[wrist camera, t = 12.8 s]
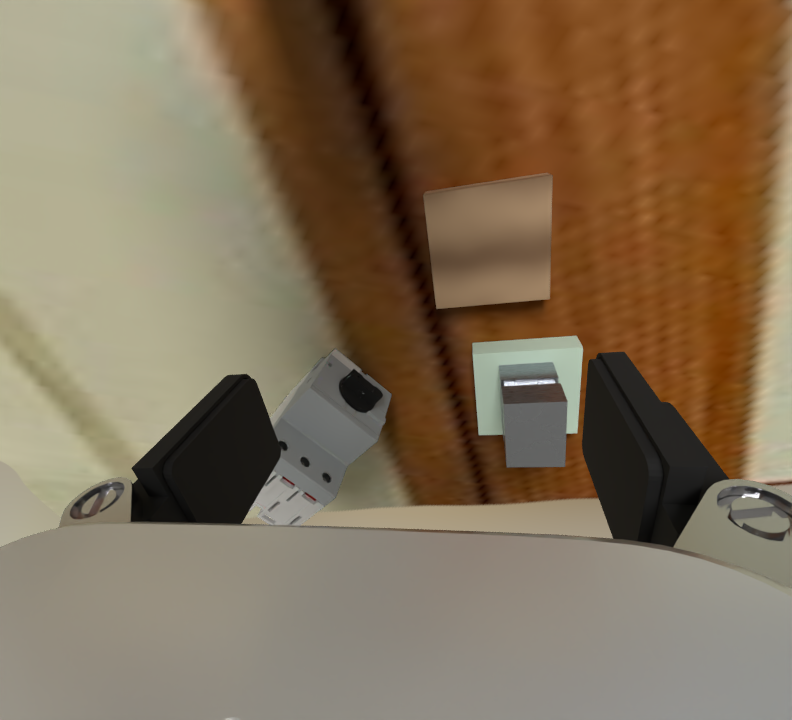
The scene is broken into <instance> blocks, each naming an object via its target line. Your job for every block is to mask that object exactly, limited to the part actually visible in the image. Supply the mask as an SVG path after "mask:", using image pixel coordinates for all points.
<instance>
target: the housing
mask: <svg viewBox="0 0 792 720" xmlns="http://www.w3.org/2000/svg"><path fill="white" fill-rule="evenodd" d="M499 382H500V401H501V420H502V430H503V439H504V448H505V457H506V466H507V467H565V453H566V428H567V404H568V401H567V399H566V396H565V393H564V391H563V388H562V385H561V383H558V374H557V372H556V369H555V366H554V364H553V362H544V363H528V364H512V365H499Z"/></svg>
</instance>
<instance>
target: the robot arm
mask: <svg viewBox="0 0 792 720" xmlns="http://www.w3.org/2000/svg"><path fill="white" fill-rule="evenodd" d="M582 449H583V455H584V458H585V461H586V464H587V467H588V469H589V472H590V475H591V478H592V480H593V483H594V486H595V489H596V492H597V494H598V497H599V500H600V502H601V505H602V508H603V511H604V514H605V516H606V519H607V522H608V525H609V528H610V530H611V533H612V536H613V539H610V538H596V537H581V536H567V535H551V534H550V535H549V534H524V533H523V534H522V533H503V532H476V531H449V530H448V531H447V530H422V529H420V530H419V529H395V528H394V529H393V528H364V527H331V526H299V525H264V524H263V525H262V524H241V523H242V522H243V520H244V518H245V517H246V515H247V513H248V512H249V510H250V508H251V507H252V505H253V503H254V501H255V500H256V498H257V496H258V495H259V493H260V491H261V490H262V488H263V486H264V485H265V483H266V481H267V480H268V478H269V476H270V475H271V473H272V471H273V469H274V468H275V466H276V464H277V463H278V461H279V459H280V456H281V448H280V445H279V442H278V439H277V437H276V434H275V431H274V429H273V426H272V423H271V420H270V418H269V415H268V412H267V410H266V407H265V404H264V402H263V399H262V396H261V394H260V391H259V388H258V386H257V383H256V381H255V380H254V379H251V377H250V376H249V375H247V374H240V375H227V376H226V377H225V378H224V379H223V380H222V381H221V382H220V383H218V384H217V385H216V386H215V387H214V388H213V389H212V390H211V391H210V392H209V393H208V394H207V395H206V396H205V397H204V398H203V399H202V400H201V401H200V402H199V403H198V404H197V405H196V406H195V407H194V408H193V409H192V410H191V411H190V412H189V413H188V414H187V415H186V416H185V417H184V418H183V419H182V420H180V421H179V422H178V423H177V424H176V425H175V426H174V427H173V428H172V429H171V430H170V431H169V432H168V433H167V434H166V435H165V436H164V437H163V438H162V439H161V440H160V441H159V442H158V443H157V444H156V445H155V446H154V447H153V448H152V449H151V450H150V451H149V452H148V453H147V454H146V455H145V456H144V457H142V458H141V459H140V460H139V461H138V462H137V463H136V464H135V465H134V466H133V467H132V470H133V471H134V473H135V475H136V476H137V478H138V480H137V481H136V482H135V483H134V484H132V482H131V480H129V479H127V478H122V477H118V478H112V479H108V480H105V481H102V482H100V483H98V484H96V485H94V486H92V487H90V488H88V489H87V490H85V491H84V492H82V493H81V494H79V495H78V496H77V497H76V498H75V499H73V500H72V501H71V502H70V503H69V505H68V506H67V507H66V508H65V510H64V512H63V514H62V517H61V521H60V525H59V527H58V528H56V529H51V530H47V531H44V532H40V533H37V534H34V535H30V536H27V537H24V538H21V539H19V540H17V541H14V542H11V543H9V544H6V545H4V546H2V547H0V720H792V496H791V495H789V494H787V493H785V492H783V491H781V490H779V489H776V488H774V487H772V486H769V485H765V484H762V483H759V482H755V481H748V480H741V479H732V480H729V478H728V477H727V476H726V474H725V473H724V472H723V470H722V469H721V468H720V466H719V465H718V464H717V463H716V461H715V460H714V459H713V457H712V456H711V455H710V453H709V452H708V451H707V449H706V448H705V447H704V446H703V444H702V443H701V442H700V440H699V439H698V438H697V436H696V435H695V434H694V432H693V431H692V430H691V428H690V427H689V426H688V425H687V423H686V422H685V421H684V419H683V418H682V417H681V415H680V414H679V413H678V411H677V410H676V409H675V408H674V406H672V405H671V404H670V403H668V402H661V401H660V400H659V399H658V397H657V396H656V395H655V393H654V392H653V390H652V389H651V388H650V386H649V385H648V384H647V382H646V381H645V379H644V378H643V377H642V375H641V374H640V373H639V371H638V370H637V368H636V367H635V366H634V364H633V363H632V362H631V360H630V359H629V357H628V356H627V355H626V353H625V352H611V353H598V355H597V357H596V359H590V360H589V363H588V374H587V387H586V400H585V413H584V426H583V439H582Z"/></svg>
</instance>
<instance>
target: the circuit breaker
mask: <svg viewBox="0 0 792 720" xmlns="http://www.w3.org/2000/svg"><path fill="white" fill-rule="evenodd" d="M361 371H362V369H360V368H359V367H358V366H357V365H355V364H354V363H353V362H352V361H351V360H349V359H348V358H347V357H346V356H345V355H343V354H342V353H341V352H340V351H338V350H337V349H336V348H335V349H334V350H333V351H332V352H331V353H330V354H329V355H328V356H327V357H326V358H325V359H324V358H323V357H322V358H321V359H320V360H319V361H318V362H317V363H316V364H315V366H314V367H313V368H312V369H311V370H310V371H309V372H308V373H307V374H306V375H305V376H304V377H303V379H302V380H301V381H300V382H299V383H298V384H297V385H296V386H295V387H294V388H293V389H292V391H291V392H290V393H289V394H288V396H286V397H285V398H284V401H283V402H282V403H281V404H280V405H279V407H278V408H277V409H276V411H275V412H274V414H273V415H272V416H271V418H270V420H271V423H272V426H273V429H274V431H275V434H276V437H277V439H278V442H279V445H280V448H281V456H280V459H279V461H278V463H277V464H276V466H275V468H274V469H273V471H272V473H271V475H270V476H269V478H268V480H267V481H266V483H265V485H264V486H263V488H262V490H261V491H260V493H259V495H258V496H257V498H256V500H255V501H254V503H253V505H252V507H251V508H250V510H249V511H251V510H252V509H253V508H254V507H255V506H258V507H259V508H261V510H260V512H259V514H258V516H257V517H259V518H260V519H262V520H263V521H265V522H266V523H268V524H269V525H299V526H300V525H301V524H303V523H304V522H305V521H306V520H308V519H309V518H310V517H312V516H313V515H314V514H315V513H317V512H318V511H319V510H321V509H322V508H323V507H325V506H326V505H327V504H328V503H330V502H331V501H332V500H334V499H335V498H336V496H337V493H338V490H339V488H340V485H341V482H342V480H343V477H344V474H345V472H346V469H347V467H348V465H350V464H351V463H352V462H353V461H354V460H356V459H357V458H358V457H359V456H360V455H362V454H363V453H364V452H365V451H367V450H368V449H369V448H370V447H371V446H373V445H374V444H375V443H376V442H377V441H378V438H379V435H380V432H381V429H382V426H383V425H384V424H385V421H386V419H385V416H386V412H387V409H388V406H389V402H390V399H391V396H392V394H391V393H389V392H388V391H387V390H386V389H385V388H383V387H382V386H381V385H380V384H379V383H377V382H376V381H375V380H374V379H372V378H371V377H370V376H369V375H368V374H366V375H365V374H364V373H362V372H361ZM266 515H267V516H266ZM269 517H270V518H269ZM272 519H273V520H272Z"/></svg>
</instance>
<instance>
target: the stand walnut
mask: <svg viewBox="0 0 792 720" xmlns="http://www.w3.org/2000/svg"><path fill="white" fill-rule="evenodd" d="M552 180H553V175H551V174H549V173H543V174H536V175H530V176H523V177H517V178H510V179H504V180H497V181H491V182H484V183H478V184H471V185H464V186H458V187H451V188H445V189H438V190H432V191H426V192H425V193H424V194H423V199H424V207H425V216H426V225H427V233H428V242H429V250H430V259H431V267H432V276H433V285H434V293H435V302H436V309H443V308H454V307H466V306H477V305H488V304H500V303H511V302H522V301H533V300H545V299H550V266H551V223H552Z"/></svg>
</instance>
